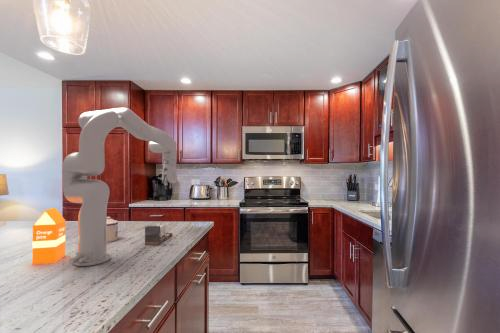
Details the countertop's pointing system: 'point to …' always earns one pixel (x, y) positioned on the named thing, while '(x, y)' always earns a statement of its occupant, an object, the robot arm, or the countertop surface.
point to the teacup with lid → (112, 230)
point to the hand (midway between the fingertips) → (169, 195)
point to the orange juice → (49, 237)
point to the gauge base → (154, 235)
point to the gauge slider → (161, 229)
